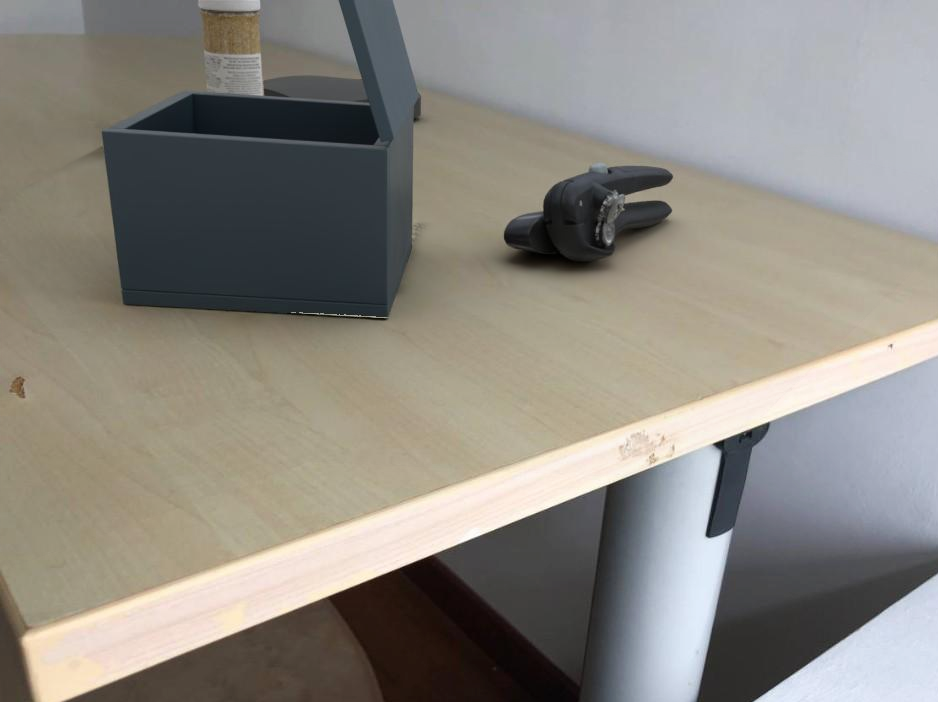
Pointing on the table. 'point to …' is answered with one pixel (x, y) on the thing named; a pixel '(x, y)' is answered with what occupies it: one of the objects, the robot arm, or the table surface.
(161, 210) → the bin
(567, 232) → the can opener
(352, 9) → the bin lid
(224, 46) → the sprinkles bottle
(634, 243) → the table surface
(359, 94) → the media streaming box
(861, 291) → the table surface
